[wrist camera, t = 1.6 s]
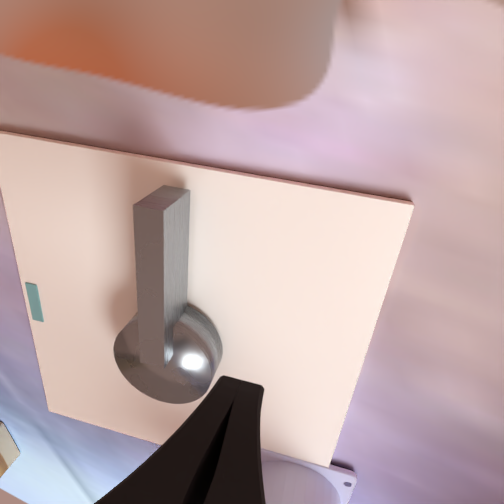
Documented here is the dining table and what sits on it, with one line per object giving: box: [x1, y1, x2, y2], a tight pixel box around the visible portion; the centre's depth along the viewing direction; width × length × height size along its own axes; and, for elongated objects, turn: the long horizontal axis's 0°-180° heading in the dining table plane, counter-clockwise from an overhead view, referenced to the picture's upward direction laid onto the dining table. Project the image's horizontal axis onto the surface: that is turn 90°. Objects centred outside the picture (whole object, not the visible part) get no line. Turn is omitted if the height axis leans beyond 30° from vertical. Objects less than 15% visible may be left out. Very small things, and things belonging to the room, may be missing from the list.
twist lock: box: [113, 185, 223, 404], centre depth 20 cm, size 13×6×3 cm, turn 174°
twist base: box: [0, 131, 415, 468], centre depth 24 cm, size 22×22×1 cm
